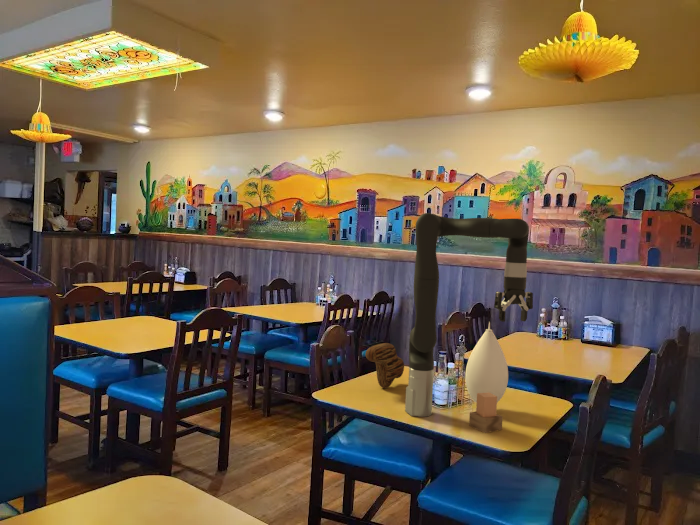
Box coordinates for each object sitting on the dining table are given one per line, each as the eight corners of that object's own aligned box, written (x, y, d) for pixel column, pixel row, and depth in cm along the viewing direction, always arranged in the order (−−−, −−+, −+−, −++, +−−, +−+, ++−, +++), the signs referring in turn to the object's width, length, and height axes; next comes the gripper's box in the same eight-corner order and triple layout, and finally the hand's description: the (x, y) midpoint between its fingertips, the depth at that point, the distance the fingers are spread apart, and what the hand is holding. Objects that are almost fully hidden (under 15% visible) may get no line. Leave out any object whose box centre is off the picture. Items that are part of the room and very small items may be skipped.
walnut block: (485, 433, 189) (486, 419, 189) (469, 426, 196) (469, 412, 196) (501, 430, 193) (502, 416, 193) (485, 423, 200) (486, 409, 200)
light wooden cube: (476, 412, 196) (477, 393, 196) (488, 411, 198) (489, 392, 197) (483, 417, 191) (484, 397, 191) (496, 416, 193) (497, 396, 192)
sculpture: (391, 381, 252) (393, 337, 251) (406, 384, 247) (408, 340, 246) (359, 393, 230) (361, 346, 229) (375, 397, 226) (377, 349, 225)
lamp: (456, 410, 213) (461, 320, 211) (475, 401, 225) (480, 317, 223) (494, 420, 203) (499, 326, 201) (512, 411, 215) (517, 322, 213)
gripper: (526, 275, 199) (523, 319, 200) (491, 274, 195) (489, 319, 196) (539, 276, 192) (536, 322, 193) (503, 276, 188) (501, 323, 188)
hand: (512, 321), depth 194 cm, fingers open, 8 cm apart
